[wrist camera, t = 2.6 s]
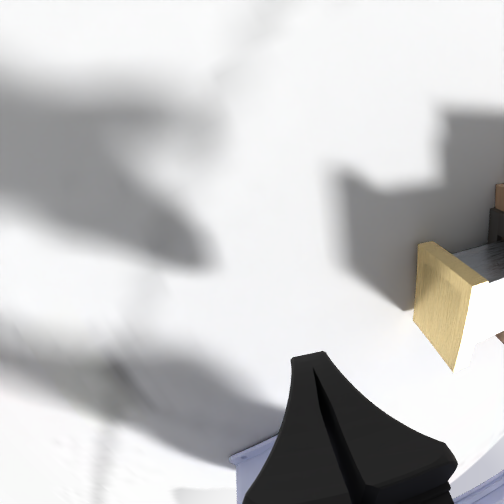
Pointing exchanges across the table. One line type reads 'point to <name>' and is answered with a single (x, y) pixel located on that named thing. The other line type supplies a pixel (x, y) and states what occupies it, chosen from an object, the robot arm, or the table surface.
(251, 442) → the table surface
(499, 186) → the collar block
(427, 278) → the peg
